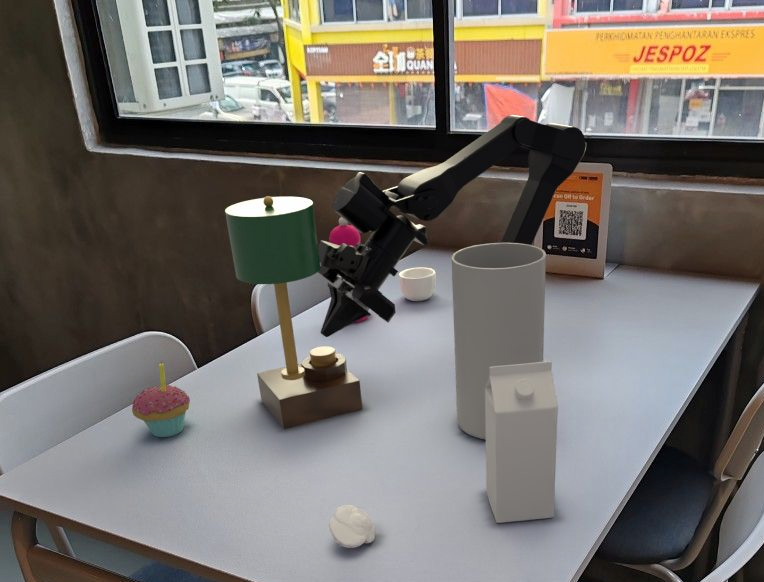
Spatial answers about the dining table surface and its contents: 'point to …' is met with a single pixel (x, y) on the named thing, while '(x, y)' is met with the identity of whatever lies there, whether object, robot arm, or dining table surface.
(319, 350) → the button
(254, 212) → the desk lamp
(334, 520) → the dumpling
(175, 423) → the cupcake
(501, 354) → the cylinder vase
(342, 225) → the pepper mill
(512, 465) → the milk carton
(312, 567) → the dining table surface
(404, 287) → the teacup
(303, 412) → the lamp base
